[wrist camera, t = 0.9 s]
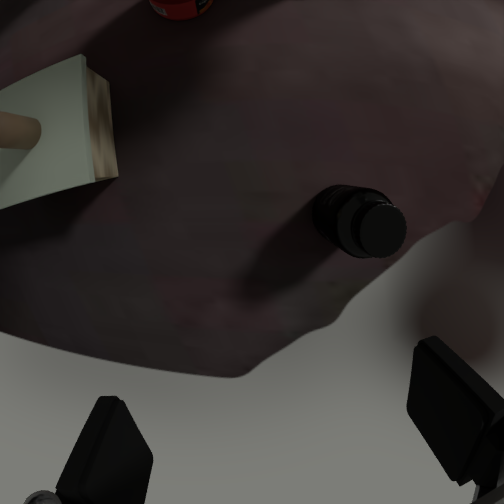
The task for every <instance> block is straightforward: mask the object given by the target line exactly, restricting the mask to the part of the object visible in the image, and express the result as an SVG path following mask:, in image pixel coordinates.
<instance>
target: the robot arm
mask: <svg viewBox="0 0 504 504" xmlns="http://www.w3.org/2000/svg"><path fill="white" fill-rule="evenodd" d="M407 412H408V415H409V416H410V418H411V419H412V421H413V422H414V424H415V425H416V427H417V428H418V430H419V431H420V433H421V435H422V436H423V438H424V439H425V440H426V442H427V444H428V445H429V447H430V448H431V450H432V451H433V453H434V455H435V456H436V458H437V459H438V461H439V462H440V464H441V466H442V467H443V468H444V470H445V472H446V473H447V475H448V477H449V478H450V479H451V480H452V481H457V483H458V485H459V486H462V485H464V484H465V483H467V482H469V481H471V480H472V479H473V481H474V482H475V484H476V488H475V493H474V497H473V501H472V503H471V504H504V399H503V398H502V397H501V396H500V395H499V394H498V393H497V392H496V391H495V390H494V389H493V388H492V387H491V386H490V385H489V384H488V383H487V382H486V381H485V380H484V379H483V378H482V377H481V376H480V375H478V374H477V373H476V372H475V371H474V370H473V369H472V368H471V367H470V366H469V365H468V364H467V363H466V362H465V361H464V360H462V359H461V358H460V357H459V356H458V355H457V354H456V353H455V352H454V351H453V350H451V349H450V348H449V347H448V346H447V345H446V344H445V343H444V342H443V341H442V340H440V339H439V338H438V337H437V336H431V337H428V338H425V339H423V340H420V341H419V342H418V345H417V346H416V347H415V348H414V352H413V362H412V371H411V379H410V387H409V393H408V400H407ZM152 465H153V455H152V452H151V450H150V448H149V447H148V445H147V443H146V442H145V440H144V438H143V436H142V434H141V433H140V431H139V429H138V427H137V425H136V424H135V422H134V420H133V418H132V416H131V414H130V412H129V410H128V408H127V407H126V404H125V402H124V401H123V400H120V399H119V398H118V397H117V396H100V397H99V398H98V400H97V402H96V404H95V406H94V408H93V410H92V411H91V414H90V416H89V417H88V419H87V421H86V423H85V425H84V427H83V429H82V431H81V433H80V436H79V438H78V440H77V442H76V444H75V446H74V448H73V450H72V452H71V454H70V456H69V459H68V461H67V463H66V465H65V467H64V470H63V472H62V474H61V476H60V478H59V481H58V483H57V485H56V489H57V490H56V493H55V494H54V493H53V492H50V491H45V490H41V491H37V492H35V493H33V494H31V495H30V496H29V497H28V498H27V499H26V500H25V502H24V504H144V503H145V498H146V493H147V488H148V483H149V479H150V474H151V469H152Z"/></svg>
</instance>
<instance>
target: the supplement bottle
mask: <svg viewBox="0 0 504 504" xmlns="http://www.w3.org/2000/svg"><path fill="white" fill-rule="evenodd" d="M312 218H313V223H314V225H315V227H316V229H317V231H318V232H319V233H320V234H321V235H322V236H323V237H324V238H326V239H327V240H328V241H330V242H331V243H333V244H334V245H336V246H337V247H338V248H340V249H341V250H343V251H344V252H345V253H347V254H349V255H351V256H353V257H356V258H362V259H365V258H371V257H375V258H377V257H378V258H382V257H383V258H386V257H387V256H391V255H392V254H394V253H395V252H397V251H398V249H399V248H400V247H401V246H402V244H403V243H404V239H405V238H406V233H407V232H406V229H407V226H406V221H405V217H404V216H403V213H402V212H400V210H399V209H398V208H397V207H396V206H394V205H393V204H392V203H391V201H390V200H389V199H388V198H387V197H386V196H385V195H384V194H383V193H381V192H379V191H377V190H374V189H371V188H364V187H357V186H350V185H333V186H330V187H328V188H326V189H325V190H323V191H322V192H321V193H320V194H319V195H318V197H317V198H316V200H315V202H314V205H313V210H312Z"/></svg>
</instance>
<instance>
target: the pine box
mask: <svg viewBox="0 0 504 504" xmlns="http://www.w3.org/2000/svg"><path fill="white" fill-rule="evenodd" d="M86 82H87V104H88V119H89V131H90V142H91V151H92V160H93V168H94V175H95V182H97V181H102V180H106V179H110V178H114V177H119V176H118V169H117V161H116V153H115V145H114V136H113V126H112V114H111V102H110V86H109V82H108V81H107V80H105V79H104V78H102V77H101V76H100V75H98V74H97V73H95V72H94V71H92V70H91V69H89V68H88V67H87V66H86ZM55 193H56V192H55Z"/></svg>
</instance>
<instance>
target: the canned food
mask: <svg viewBox="0 0 504 504" xmlns="http://www.w3.org/2000/svg"><path fill="white" fill-rule="evenodd" d="M149 1H150V3H151V5H152V7H153V9H154V10H155V12H156V13H158V14H159V15H160V16H162V17H164V18H167V19H170V20H177V21H180V20H188V19H192V18H195V17H197V16H199V15H201V14H202V13H204V12H205V11H206V10H207V9H208V8H209V7H210V5H211V4H212V2H213V0H149Z"/></svg>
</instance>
